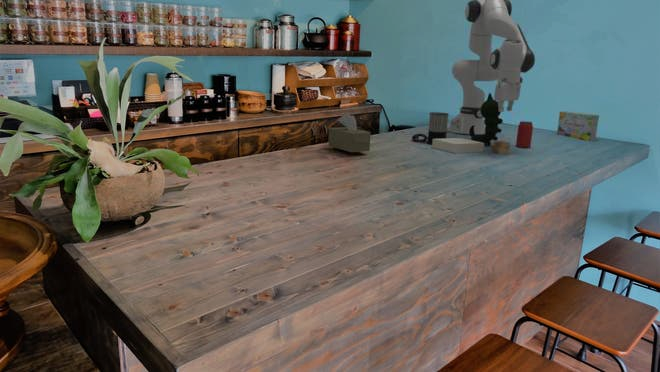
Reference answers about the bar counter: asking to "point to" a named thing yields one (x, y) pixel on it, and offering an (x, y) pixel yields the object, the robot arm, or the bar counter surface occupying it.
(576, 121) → the snack box
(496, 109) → the toy figurine
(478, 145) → the cream base
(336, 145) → the tissue box
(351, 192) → the bar counter surface
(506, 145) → the block
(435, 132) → the milk frother
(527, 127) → the beer can
